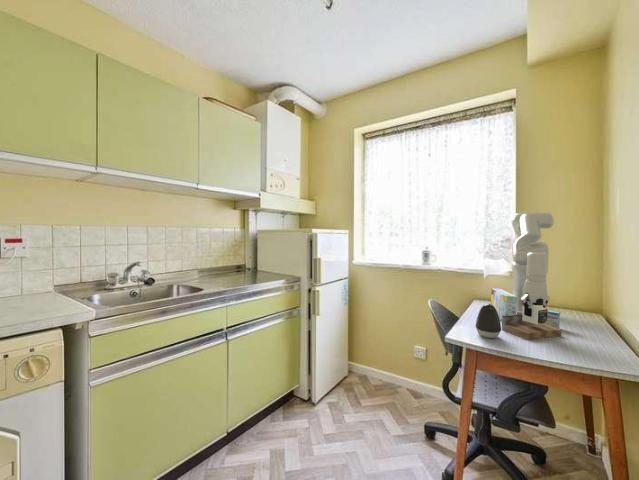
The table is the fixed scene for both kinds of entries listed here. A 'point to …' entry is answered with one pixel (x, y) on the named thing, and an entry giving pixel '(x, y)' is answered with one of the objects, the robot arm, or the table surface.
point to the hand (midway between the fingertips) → (534, 314)
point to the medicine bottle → (536, 313)
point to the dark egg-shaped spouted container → (488, 322)
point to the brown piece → (527, 328)
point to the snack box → (503, 302)
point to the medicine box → (553, 319)
